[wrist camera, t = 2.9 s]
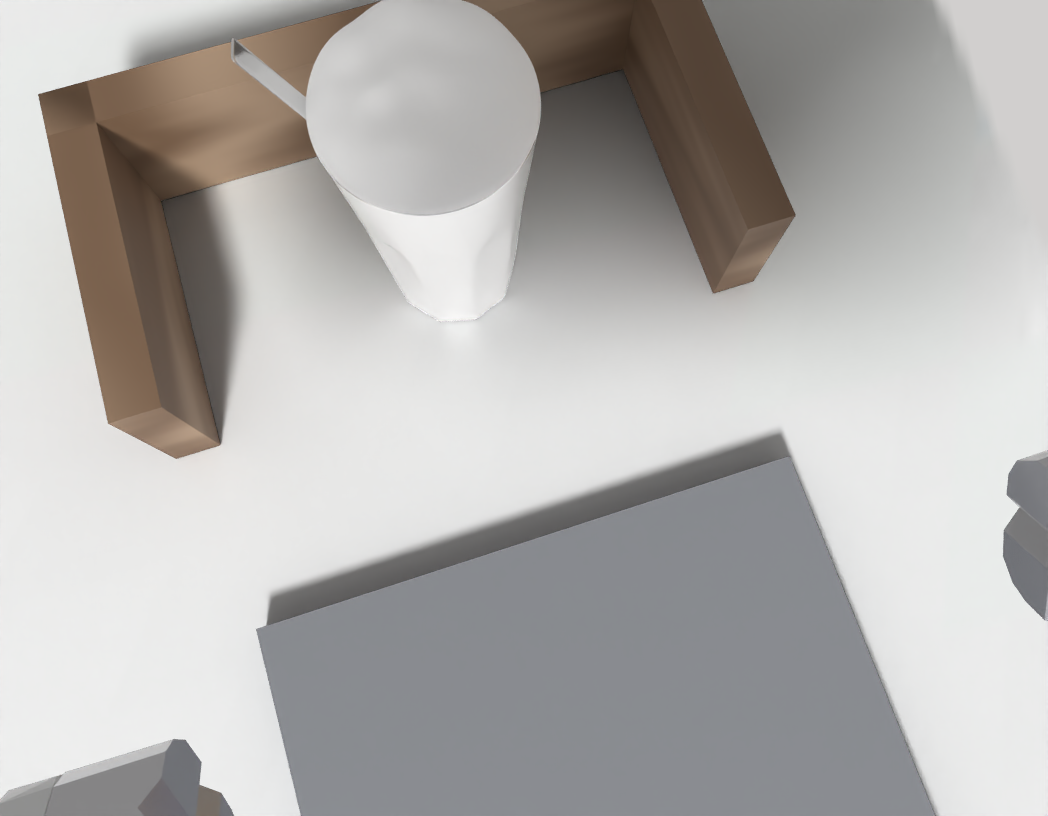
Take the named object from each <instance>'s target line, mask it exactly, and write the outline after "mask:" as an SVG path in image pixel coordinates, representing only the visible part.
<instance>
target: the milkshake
mask: <svg viewBox="0 0 1048 816" xmlns="http://www.w3.org/2000/svg"><path fill="white" fill-rule="evenodd" d="M231 59H232V61H233V62H234V63H236V64H237V65H238V66H239V67H240V68H242V69H243V70H244V71H245V72H247V73H248V74H249V75H250V76H252V77H253V78H254V79H255V80H257V81H258V82H259V83H260V84H262V85H263V86H264V87H266V88H267V89H268V90H269V91H271V92H272V93H273V94H274V95H276V96H277V97H278V98H279V99H281V100H282V101H283V102H284V103H286V104H287V105H288V106H289V107H291V108H292V109H293V110H294V111H296V112H297V113H298V114H299V115H301V116H302V117H303V118H305V119H306V121H307V128H308V132H309V136H310V140H311V143H312V145H313V148H314V150H315V153H316V155H317V157H318V158H319V160H320V162H321V163H322V165H323V166H324V167H325V169H326V170H327V172H328V173H329V175H330V176H331V178H332V179H333V181H334V182H335V184H336V185H337V187H338V188H339V190H340V191H341V193H342V194H343V196H344V197H345V199H346V200H347V202H348V203H349V205H350V206H351V208H352V209H353V211H354V212H355V214H356V216H357V217H358V219H359V220H360V222H361V223H362V225H363V226H364V228H365V230H366V231H367V233H368V234H369V236H370V238H371V240H372V241H373V243H374V245H375V247H376V248H377V250H378V252H379V253H380V255H381V257H382V259H383V260H384V262H385V264H386V266H387V267H388V269H389V271H390V273H391V274H392V276H393V278H394V280H395V281H396V283H397V285H398V286H399V288H400V290H401V292H402V293H403V295H404V297H405V299H406V300H407V302H408V303H409V304H411V305H412V306H414V307H416V308H417V309H419V310H421V311H422V312H424V313H425V314H427V315H429V316H430V317H432V318H434V319H435V320H437V321H438V322H447V321H463V320H476V319H478V318H479V317H480V316H482V315H483V314H484V313H485V312H487V311H488V310H489V309H491V308H492V307H493V306H494V305H496V304H497V303H498V302H500V301H501V300H502V299H504V298H505V295H506V291H507V288H508V284H509V280H510V277H511V273H512V270H513V267H514V263H515V256H516V249H517V242H518V235H519V228H520V221H521V214H522V207H523V200H524V193H525V190H526V186H527V182H528V177H529V172H530V168H531V163H532V158H533V153H534V148H535V144H536V139H537V134H538V129H539V125H540V118H541V95H540V88H539V83H538V79H537V76H536V73H535V70H534V67H533V65H532V62H531V60H530V58H529V57H528V55H527V53H526V52H525V50H524V49H523V47H522V46H521V44H520V43H519V42H518V41H517V40H516V38H515V37H514V36H513V35H512V34H511V33H510V32H509V30H508V29H507V28H506V27H505V26H504V25H503V24H502V23H501V22H500V21H498V20H497V19H496V18H495V17H494V16H492V15H491V14H490V13H488V12H487V11H485V10H484V9H482V8H480V7H478V6H476V5H474V4H472V3H469V2H466V1H462V0H382V1H380V2H379V3H377V4H375V5H374V6H372V7H371V8H369V9H368V10H367V11H365V12H364V13H363V14H361V15H360V16H359V17H358V18H356V19H355V20H353V21H352V22H351V23H349V24H348V25H346V26H345V27H343V28H342V29H340V30H339V31H338V32H337V33H335V34H334V35H333V36H332V37H331V38H330V39H329V40H328V42H327V43H326V44H325V45H324V47H323V48H322V50H321V51H320V53H319V55H318V57H317V59H316V61H315V63H314V66H313V69H312V71H311V75H310V78H309V82H308V88H307V94H306V97H305V96H304V95H303V94H301V93H300V92H299V91H298V90H297V89H295V88H294V87H293V86H292V85H290V84H289V83H288V82H287V81H286V80H284V79H283V78H282V77H281V76H280V75H278V74H277V73H276V72H275V71H274V70H272V69H271V68H270V67H269V66H268V65H266V64H265V63H264V62H263V61H262V60H260V59H259V58H258V57H257V56H256V55H254V54H253V53H252V52H251V51H250V50H248V49H247V48H246V47H245V46H243V45H242V44H241V43H240V42H239V41H237V40H236V39H234V38H232V39H231Z"/></svg>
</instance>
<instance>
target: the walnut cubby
mask: <svg viewBox="0 0 1048 816" xmlns="http://www.w3.org/2000/svg"><path fill="white" fill-rule="evenodd" d="M462 1H466V2H469V3H472V4H474V5H476V6H478V7H480V8H482V9H484V10H485V11H487V12H488V13H490V14H491V15H492V16H494V17H495V18H496V19H497V20H498V21H500V22H501V23H502V24H503V25H504V26H505V27H506V28H507V29H508V30H509V32H510V33H511V34H512V35H513V36H514V37H515V38H516V40H517V41H518V42H519V43H520V44H521V46H522V47H523V49H524V50H525V52H526V53H527V55H528V57H529V58H530V60H531V62H532V65H533V67H534V70H535V73H536V76H537V79H538V83H539V88H540V93H541V92H545V91H548V90H552V89H555V88H559V87H562V86H566V85H569V84H573V83H576V82H580V81H583V80H587V79H590V78H594V77H597V76H601V75H604V74H608V73H611V72H615V71H618V70H622V69H623V70H624V73H625V75H626V78H627V80H628V83H629V85H630V88H631V90H632V93H633V95H634V98H635V100H636V103H637V105H638V108H639V110H640V113H641V115H642V118H643V120H644V123H645V125H646V128H647V130H648V133H649V135H650V138H651V140H652V142H653V145H654V147H655V150H656V152H657V155H658V157H659V160H660V162H661V165H662V167H663V170H664V172H665V175H666V177H667V180H668V182H669V185H670V187H671V190H672V192H673V195H674V197H675V200H676V202H677V205H678V207H679V210H680V212H681V215H682V217H683V220H684V222H685V225H686V227H687V230H688V232H689V235H690V237H691V240H692V242H693V245H694V247H695V250H696V252H697V254H698V257H699V259H700V262H701V264H702V267H703V269H704V272H705V274H706V277H707V279H708V282H709V284H710V287H711V289H712V292H713V293H716V292H720V291H723V290H726V289H729V288H733V287H736V286H739V285H742V284H746V283H749V282H752V281H754V279H755V278H756V276H757V275H758V273H759V272H760V270H761V269H762V267H763V265H764V264H765V262H766V261H767V259H768V258H769V256H770V254H771V253H772V251H773V250H774V248H775V247H776V245H777V244H778V242H779V240H780V239H781V237H782V236H783V234H784V233H785V231H786V229H787V228H788V226H789V225H790V223H791V222H792V220H793V219H794V217H795V213H794V211H793V208H792V206H791V204H790V201H789V199H788V197H787V194H786V192H785V190H784V188H783V185H782V183H781V181H780V178H779V176H778V174H777V172H776V169H775V167H774V165H773V162H772V160H771V158H770V156H769V153H768V151H767V149H766V146H765V144H764V142H763V140H762V137H761V135H760V133H759V130H758V128H757V126H756V123H755V121H754V119H753V117H752V114H751V112H750V110H749V107H748V105H747V103H746V101H745V98H744V96H743V94H742V91H741V89H740V87H739V85H738V82H737V80H736V78H735V75H734V73H733V71H732V69H731V66H730V64H729V62H728V59H727V57H726V55H725V52H724V50H723V48H722V46H721V43H720V41H719V39H718V36H717V34H716V32H715V30H714V27H713V25H712V23H711V20H710V18H709V16H708V14H707V11H706V9H705V7H704V4H703V2H702V0H462ZM379 2H380V1H379ZM379 2H375V3H372V4H368V5H364V6H361V7H357V8H353V9H350V10H346V11H342V12H339V13H335V14H331V15H328V16H324V17H320V18H317V19H313V20H309V21H306V22H302V23H298V24H295V25H291V26H287V27H284V28H280V29H276V30H273V31H269V32H265V33H262V34H258V35H254V36H251V37H247V38H243V39H240V40H237V41H239V42H240V43H241V44H242V45H243V46H245V47H246V48H247V49H248V50H250V51H251V52H252V53H253V54H254V55H256V56H257V57H258V58H259V59H260V60H262V61H263V62H264V63H265V64H266V65H268V66H269V67H270V68H271V69H272V70H274V71H275V72H276V73H277V74H278V75H280V76H281V77H282V78H283V79H284V80H286V81H287V82H288V83H289V84H290V85H292V86H293V87H294V88H295V89H297V90H298V91H299V92H300V93H301V94H303V95H304V96H305V97H306V94H307V88H308V82H309V78H310V75H311V71H312V69H313V66H314V63H315V61H316V59H317V57H318V55H319V53H320V51H321V50H322V48H323V47H324V45H325V44H326V43H327V42H328V40H329V39H330V38H331V37H332V36H333V35H334V34H335V33H337V32H338V31H339V30H340V29H342V28H343V27H345V26H346V25H348V24H349V23H351V22H352V21H353V20H355V19H356V18H358V17H359V16H360V15H361V14H363V13H364V12H365V11H367V10H368V9H369V8H371V7H372V6H374V5H375V4H377V3H379ZM38 96H39V100H40V105H41V110H42V115H43V119H44V124H45V129H46V133H47V138H48V143H49V147H50V152H51V157H52V162H53V166H54V171H55V176H56V180H57V185H58V190H59V194H60V199H61V204H62V209H63V213H64V218H65V223H66V227H67V232H68V237H69V242H70V246H71V251H72V256H73V260H74V265H75V270H76V274H77V279H78V284H79V289H80V293H81V298H82V303H83V307H84V312H85V317H86V322H87V326H88V331H89V336H90V340H91V345H92V350H93V354H94V359H95V364H96V369H97V373H98V378H99V383H100V387H101V392H102V397H103V402H104V406H105V411H106V416H107V420H108V424H110V425H112V426H114V427H116V428H118V429H120V430H122V431H124V432H126V433H128V434H129V435H131V436H133V437H135V438H137V439H139V440H141V441H143V442H145V443H147V444H149V445H151V446H153V447H154V448H156V449H158V450H160V451H162V452H164V453H166V454H168V455H170V456H172V457H174V458H176V459H177V458H180V457H184V456H187V455H190V454H193V453H197V452H200V451H203V450H206V449H210V448H213V447H216V446H219V445H220V441H219V437H218V433H217V429H216V425H215V421H214V416H213V412H212V408H211V404H210V400H209V396H208V392H207V388H206V384H205V379H204V375H203V371H202V367H201V363H200V359H199V355H198V351H197V347H196V342H195V338H194V334H193V330H192V326H191V322H190V318H189V314H188V310H187V305H186V301H185V297H184V293H183V289H182V285H181V281H180V277H179V273H178V268H177V264H176V260H175V256H174V252H173V248H172V244H171V240H170V236H169V232H168V227H167V223H166V219H165V215H164V211H163V207H162V203H161V201H162V200H165V199H169V198H172V197H176V196H179V195H183V194H186V193H190V192H193V191H197V190H200V189H204V188H207V187H211V186H215V185H218V184H222V183H225V182H229V181H232V180H236V179H239V178H243V177H246V176H250V175H253V174H257V173H260V172H264V171H267V170H271V169H274V168H278V167H281V166H285V165H288V164H292V163H295V162H299V161H302V160H306V159H309V158H313V157H316V156H317V155H316V153H315V150H314V148H313V145H312V143H311V140H310V136H309V132H308V128H307V121H306V119H305V118H303V117H302V116H301V115H299V114H298V113H297V112H296V111H294V110H293V109H292V108H291V107H289V106H288V105H287V104H286V103H284V102H283V101H282V100H281V99H279V98H278V97H277V96H276V95H274V94H273V93H272V92H271V91H269V90H268V89H267V88H266V87H264V86H263V85H262V84H260V83H259V82H258V81H257V80H255V79H254V78H253V77H252V76H250V75H249V74H248V73H247V72H245V71H244V70H243V69H242V68H240V67H239V66H238V65H237V64H236V63H234V62H233V61H232V59H231V42H228V43H225V44H221V45H217V46H214V47H210V48H206V49H203V50H199V51H195V52H192V53H188V54H184V55H181V56H177V57H173V58H170V59H166V60H162V61H159V62H155V63H151V64H148V65H144V66H140V67H137V68H133V69H129V70H126V71H122V72H118V73H115V74H111V75H107V76H104V77H100V78H96V79H93V80H89V81H85V82H82V83H78V84H74V85H71V86H67V87H63V88H60V89H56V90H52V91H49V92H45V93H41V94H38Z"/></svg>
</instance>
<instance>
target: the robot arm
mask: <svg viewBox="0 0 1048 816" xmlns="http://www.w3.org/2000/svg"><path fill="white" fill-rule="evenodd" d="M1007 496H1008V497H1009V498H1010V499H1011V500H1012V501H1013V502H1014V503H1015V504H1016V505H1017V506H1019V507H1020V508H1019V509H1018V510H1017V512H1016V513H1015V515H1014V516H1013V518H1012V519H1011V521H1010V522H1009V523H1008V525H1007V526H1006V528H1005V529H1004V544H1003V557H1004V560H1005V563H1006V566H1007V568H1008V571H1009V574H1010V577H1011V579H1012V582H1013V584H1014V585H1015V587H1016V588H1017V589H1018V591H1019V592H1020V594H1021V595H1022V597H1023V598H1024V600H1025V601H1026V602H1027V603H1028V604H1029V605H1030V606H1031V607H1032V608H1033V609H1034V610H1035V611H1036V612H1037V613H1038V614H1039V615H1040V616H1041V617H1042V618H1043V619H1044V620H1046V621H1048V450H1047V451H1044V452H1041V453H1038V454H1035V455H1032V456H1029V457H1026V458H1023V459H1020V460H1017V461H1016V463H1015V465H1014V466H1013V468H1012V469H1011V471H1010V473H1009V475H1008V486H1007ZM200 772H201V761H200V760H199V758H198V757H197V756H196V754H195V753H194V751H193V750H192V749H191V747H190V746H189V744H188V743H187V742H186V740H178V739H173V740H170V741H166V742H163V743H160V744H156V745H153V746H150V747H146V748H143V749H140V750H137V751H133V752H130V753H127V754H123V755H120V756H117V757H114V758H110V759H107V760H104V761H100V762H97V763H94V764H90V765H87V766H84V767H81V768H77V769H74V770H71V771H67V772H65V773H64V774H62V775H59V776H55V777H52V778H49V779H45V780H42V781H39V782H35V783H32V784H29V785H25V786H22V787H19V788H15V789H12V790H9V791H8V792H7V793H6V794H5V795H4V796H3V797H2V798H1V799H0V816H234V815H233V812H232V810H231V808H230V806H229V805H228V803H227V802H226V800H225V798H224V797H223V795H222V794H221V793H220V792H217V791H215V790H212V789H209V788H207V787H204V786H201V785H199V781H200Z"/></svg>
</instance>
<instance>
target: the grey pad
mask: <svg viewBox="0 0 1048 816" xmlns="http://www.w3.org/2000/svg"><path fill="white" fill-rule="evenodd" d="M256 631H257V635H258V639H259V643H260V647H261V651H262V655H263V660H264V664H265V668H266V672H267V676H268V680H269V684H270V689H271V693H272V697H273V701H274V705H275V709H276V714H277V718H278V722H279V726H280V730H281V734H282V738H283V743H284V747H285V751H286V755H287V759H288V763H289V768H290V772H291V776H292V780H293V784H294V788H295V792H296V797H297V801H298V805H299V809H300V813H301V816H935V814H934V811H933V809H932V807H931V804H930V802H929V799H928V797H927V794H926V792H925V789H924V787H923V784H922V782H921V779H920V777H919V774H918V772H917V769H916V767H915V765H914V762H913V760H912V757H911V755H910V752H909V750H908V747H907V745H906V742H905V740H904V737H903V735H902V732H901V730H900V727H899V725H898V723H897V720H896V718H895V715H894V713H893V710H892V708H891V705H890V703H889V700H888V698H887V695H886V693H885V690H884V688H883V686H882V683H881V681H880V678H879V676H878V673H877V671H876V668H875V666H874V663H873V661H872V658H871V656H870V653H869V651H868V648H867V646H866V644H865V641H864V639H863V636H862V634H861V631H860V629H859V626H858V624H857V621H856V619H855V616H854V614H853V611H852V609H851V606H850V604H849V602H848V599H847V597H846V594H845V592H844V589H843V587H842V584H841V582H840V579H839V577H838V574H837V572H836V569H835V567H834V565H833V562H832V560H831V557H830V555H829V552H828V550H827V547H826V545H825V542H824V540H823V537H822V535H821V532H820V530H819V527H818V525H817V523H816V520H815V518H814V515H813V513H812V510H811V508H810V505H809V503H808V500H807V498H806V495H805V493H804V490H803V488H802V485H801V483H800V481H799V478H798V476H797V473H796V471H795V468H794V466H793V463H792V461H791V458H790V456H788V457H785V458H781V459H778V460H775V461H772V462H769V463H766V464H763V465H760V466H757V467H754V468H751V469H748V470H745V471H741V472H738V473H735V474H732V475H729V476H726V477H723V478H720V479H717V480H714V481H711V482H708V483H705V484H701V485H698V486H695V487H692V488H689V489H686V490H683V491H680V492H677V493H674V494H671V495H668V496H665V497H661V498H658V499H655V500H652V501H649V502H646V503H643V504H640V505H637V506H634V507H631V508H628V509H625V510H621V511H618V512H615V513H612V514H609V515H606V516H603V517H600V518H597V519H594V520H591V521H588V522H585V523H581V524H578V525H575V526H572V527H569V528H566V529H563V530H560V531H557V532H554V533H551V534H548V535H545V536H541V537H538V538H535V539H532V540H529V541H526V542H523V543H520V544H517V545H514V546H511V547H508V548H505V549H501V550H498V551H495V552H492V553H489V554H486V555H483V556H480V557H477V558H474V559H471V560H468V561H464V562H461V563H458V564H455V565H452V566H449V567H446V568H443V569H440V570H437V571H434V572H431V573H428V574H424V575H421V576H418V577H415V578H412V579H409V580H406V581H403V582H400V583H397V584H394V585H391V586H388V587H384V588H381V589H378V590H375V591H372V592H369V593H366V594H363V595H360V596H357V597H354V598H351V599H348V600H344V601H341V602H338V603H335V604H332V605H329V606H326V607H323V608H320V609H317V610H314V611H311V612H308V613H304V614H301V615H298V616H295V617H292V618H289V619H286V620H283V621H280V622H277V623H274V624H271V625H268V626H264V627H261V628H258V629H256Z"/></svg>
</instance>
